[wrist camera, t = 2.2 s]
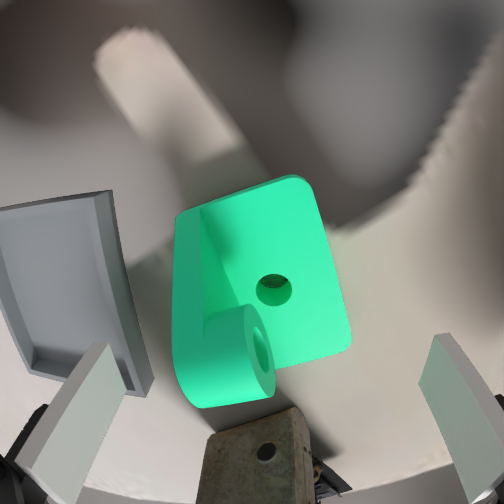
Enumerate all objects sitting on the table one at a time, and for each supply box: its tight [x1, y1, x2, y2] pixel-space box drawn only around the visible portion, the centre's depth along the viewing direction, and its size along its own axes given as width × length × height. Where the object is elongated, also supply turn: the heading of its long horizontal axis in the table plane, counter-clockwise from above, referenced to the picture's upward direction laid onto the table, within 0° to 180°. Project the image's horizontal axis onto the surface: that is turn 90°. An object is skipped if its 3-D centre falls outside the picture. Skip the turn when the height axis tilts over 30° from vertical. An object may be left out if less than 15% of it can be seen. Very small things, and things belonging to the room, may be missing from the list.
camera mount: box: [172, 174, 352, 408], centre depth 16 cm, size 12×8×10 cm, turn 20°
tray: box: [0, 190, 154, 398], centre depth 22 cm, size 14×16×2 cm
